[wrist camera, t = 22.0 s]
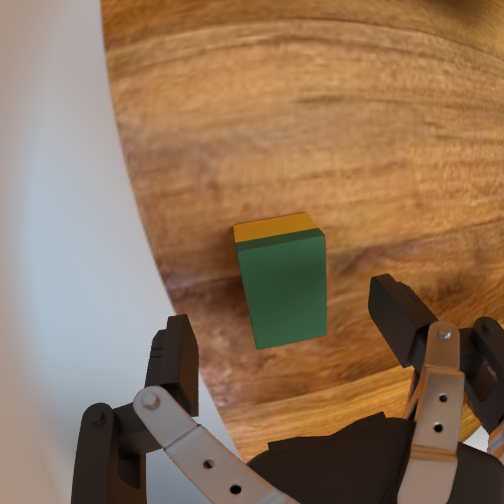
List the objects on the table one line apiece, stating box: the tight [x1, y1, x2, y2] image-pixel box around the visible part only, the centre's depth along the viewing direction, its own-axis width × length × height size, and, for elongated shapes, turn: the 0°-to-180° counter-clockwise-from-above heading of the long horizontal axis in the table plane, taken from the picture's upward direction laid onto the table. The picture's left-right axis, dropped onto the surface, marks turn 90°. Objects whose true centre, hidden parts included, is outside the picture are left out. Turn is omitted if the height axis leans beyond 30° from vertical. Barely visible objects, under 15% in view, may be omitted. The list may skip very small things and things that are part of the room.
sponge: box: [233, 212, 327, 350], centre depth 17 cm, size 7×4×4 cm, turn 9°
